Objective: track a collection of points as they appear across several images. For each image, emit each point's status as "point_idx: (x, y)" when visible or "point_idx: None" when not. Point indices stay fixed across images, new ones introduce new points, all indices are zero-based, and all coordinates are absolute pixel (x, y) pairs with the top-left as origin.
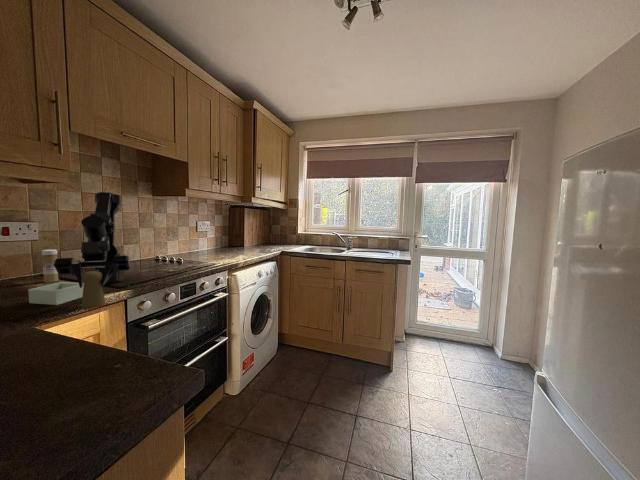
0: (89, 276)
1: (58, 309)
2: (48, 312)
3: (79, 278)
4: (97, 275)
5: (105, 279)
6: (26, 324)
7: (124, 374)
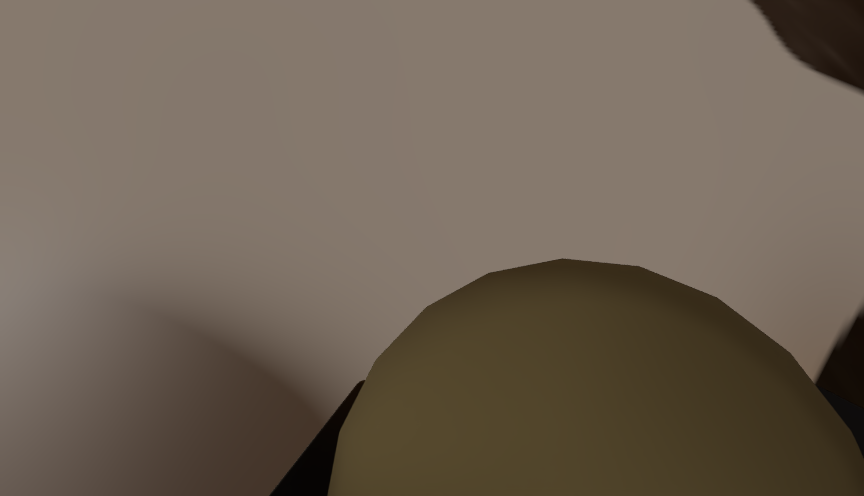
0: (555, 262)
1: (824, 388)
2: (861, 310)
3: (860, 442)
4: (395, 347)
5: (305, 466)
6: (817, 48)
7: None
